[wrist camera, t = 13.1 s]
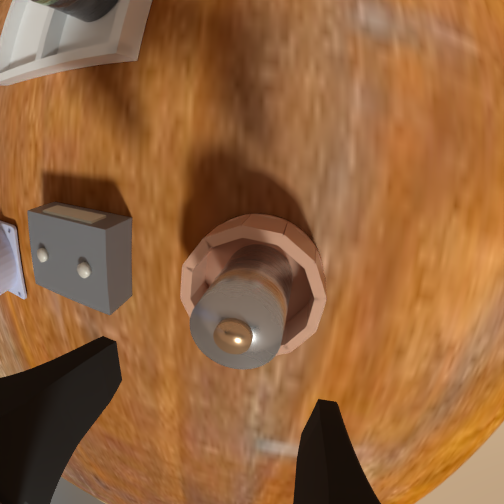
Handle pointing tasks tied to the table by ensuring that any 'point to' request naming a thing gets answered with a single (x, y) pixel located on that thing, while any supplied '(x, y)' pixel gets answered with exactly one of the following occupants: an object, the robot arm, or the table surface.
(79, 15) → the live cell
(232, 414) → the table surface
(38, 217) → the grey box with knobs
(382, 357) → the table surface
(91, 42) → the tray
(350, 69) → the table surface
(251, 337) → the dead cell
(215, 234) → the pink bowl
